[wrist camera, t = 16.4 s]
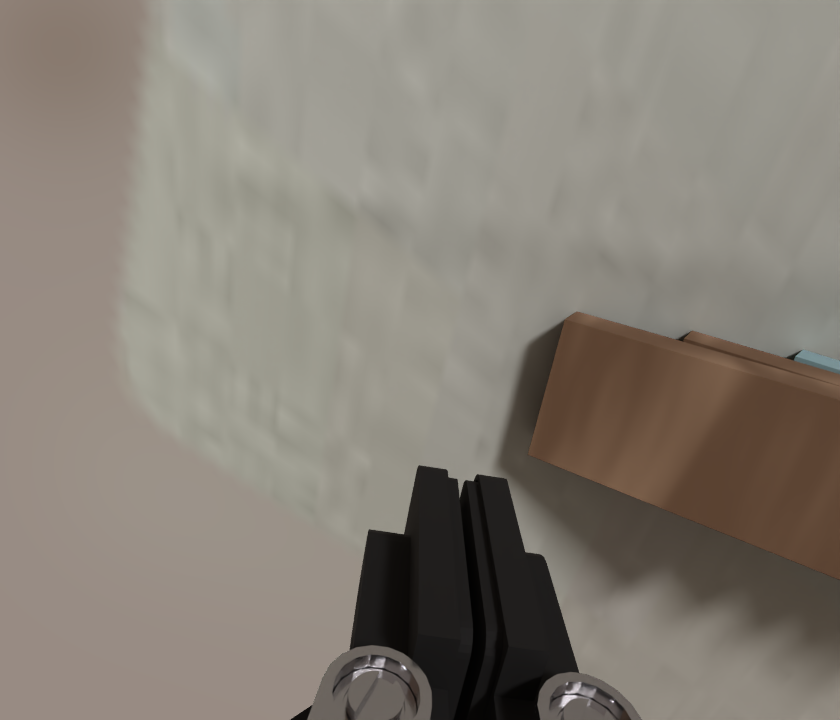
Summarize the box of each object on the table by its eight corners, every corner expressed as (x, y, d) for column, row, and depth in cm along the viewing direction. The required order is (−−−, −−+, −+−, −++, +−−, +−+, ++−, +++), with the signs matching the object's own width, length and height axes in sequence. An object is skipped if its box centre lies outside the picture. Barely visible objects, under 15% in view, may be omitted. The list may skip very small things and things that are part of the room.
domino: (576, 311, 20) (931, 412, 16) (541, 438, 22) (852, 558, 18) (565, 319, 18) (948, 431, 14) (527, 454, 20) (861, 588, 16)
